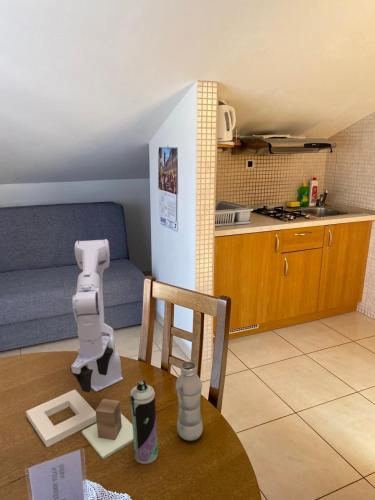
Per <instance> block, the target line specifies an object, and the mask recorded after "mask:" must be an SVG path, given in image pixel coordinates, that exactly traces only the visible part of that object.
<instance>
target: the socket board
mask: <svg viewBox="0 0 375 500" xmlns="http://www.w3.org/2000/svg"><path fill="white" fill-rule="evenodd" d="M68 408H70V409H71V411H72V412H74V414H75V415H74V416H71V417H69V418H68V419H65V420H64V421H62V422H59V423H57V424H55V425H54V423H53V422H52V421H51V420H50V418H49V417H50V416H52V415H54V414H56V413H59V412H61V411H63V410H64V409H68ZM25 413H26V418H27V420H28V421H29V422H30V424H31V425H32V427H33V428H34V430H35V432H36V433H37V434H38V436H39V438H40V439H41V440H42V442H43V444H44V445H45V447H46V448H48V447H50V446H52V445H54V444H56V443H57V442H60V441H62V440H64V439H65V438H67V437H70V436H71V435H74V434H75V433H77V432H79V431H82V430H84V429H86V428H88V427H90V426H92V425H94V423H95V424H96V423H97V420H96V410H95V409H94V408H93V407H92V406H91V405H90V404H89V403H88V402H87V401H86V399H84V397H83V396H81V394H80V393H79V392H78V390H77V389H73V390H70V391H68V392H65V393H63V394H61V395H59V396H57V397H55V398H53V399H49V400H47V401H46V402H43V403H41V404H40V405H36V406H35V407H32V408H30V409H27V410H26V411H25Z"/></svg>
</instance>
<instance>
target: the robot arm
mask: <svg viewBox="0 0 375 500" xmlns="http://www.w3.org/2000/svg"><path fill="white" fill-rule="evenodd" d="M74 255H75V256H74V257H75V260H76V263H77V266H78V268H79V269H80V270H82V272H80V273H79V274H78V276H77V283H76V291H75V294H73V295H72V301H71V303H72V304H71V305H72V306H71V307H72V311H73V315H74V320H75V323H77V324H76V325H77V326H76V327H77V334H78V335H77V336H78V341H79V342H78V343H79V344H78V345H79V348H78V349H77V351H76V352H77V354H78V355H77V357H76V359H75V360H74V362H73V364H71V366H70V367H69V369H70V370H69V371H70V373H71V374H72V375H73V376H74V378H75V379H76V380H77V382H78V384H79V387H80V388H81V391H82V392H86V393H90V392H91V391H92V390H94V392H96V393H97V392H99V391H101V390H103V389H106V388H107V387H110V386H113V385H114V384H117V383H118V382H121V381H123V379H124V377H123V376H122V374H123V373H122V365H121V364H122V363H121V362H122V361H121V358H120V355H119V352H118V351H117V350H116V340H115V339H116V338H115V330H114V329H113V327H111V326H110V325H108V324H107V323H105V311H104V310H105V309H104V308H105V307H104V288H103V287H104V286H103V274H104V271H105V270H106V269H107V268H109V267H110V262H111V261H110V243H109V240H108V239H106V238H104V239H95V240H93V239H92V240H76V242H75V243H74ZM105 333H106V334H105Z"/></svg>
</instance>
